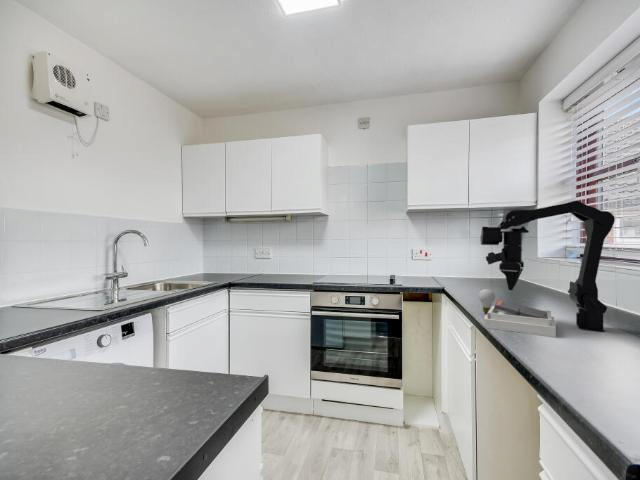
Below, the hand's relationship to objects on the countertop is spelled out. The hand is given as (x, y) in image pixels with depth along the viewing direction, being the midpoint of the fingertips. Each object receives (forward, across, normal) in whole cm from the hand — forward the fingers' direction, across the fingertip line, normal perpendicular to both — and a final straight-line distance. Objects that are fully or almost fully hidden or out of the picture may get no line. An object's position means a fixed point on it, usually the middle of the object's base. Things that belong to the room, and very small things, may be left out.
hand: (511, 288), depth 116 cm
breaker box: (+12, +4, +3) cm, 13 cm away
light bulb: (+13, -11, -10) cm, 19 cm away
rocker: (+7, +4, +3) cm, 8 cm away
